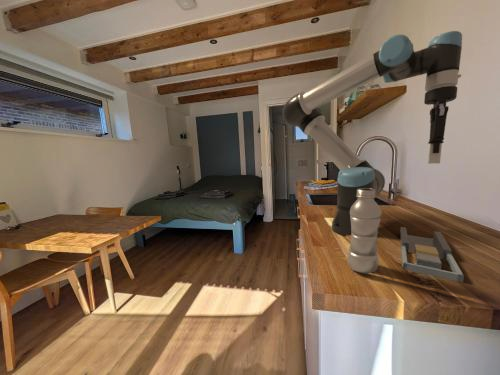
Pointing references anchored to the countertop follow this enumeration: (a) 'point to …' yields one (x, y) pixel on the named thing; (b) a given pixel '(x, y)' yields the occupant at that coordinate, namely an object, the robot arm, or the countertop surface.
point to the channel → (425, 242)
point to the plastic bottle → (364, 232)
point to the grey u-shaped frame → (454, 275)
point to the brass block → (425, 249)
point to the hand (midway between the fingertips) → (434, 163)
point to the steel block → (428, 260)
